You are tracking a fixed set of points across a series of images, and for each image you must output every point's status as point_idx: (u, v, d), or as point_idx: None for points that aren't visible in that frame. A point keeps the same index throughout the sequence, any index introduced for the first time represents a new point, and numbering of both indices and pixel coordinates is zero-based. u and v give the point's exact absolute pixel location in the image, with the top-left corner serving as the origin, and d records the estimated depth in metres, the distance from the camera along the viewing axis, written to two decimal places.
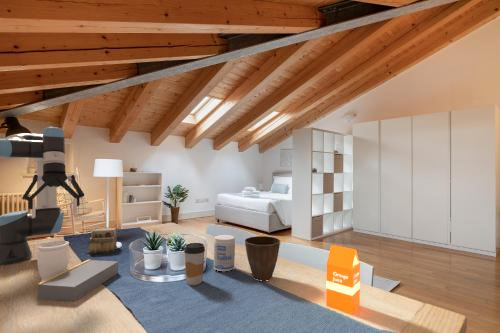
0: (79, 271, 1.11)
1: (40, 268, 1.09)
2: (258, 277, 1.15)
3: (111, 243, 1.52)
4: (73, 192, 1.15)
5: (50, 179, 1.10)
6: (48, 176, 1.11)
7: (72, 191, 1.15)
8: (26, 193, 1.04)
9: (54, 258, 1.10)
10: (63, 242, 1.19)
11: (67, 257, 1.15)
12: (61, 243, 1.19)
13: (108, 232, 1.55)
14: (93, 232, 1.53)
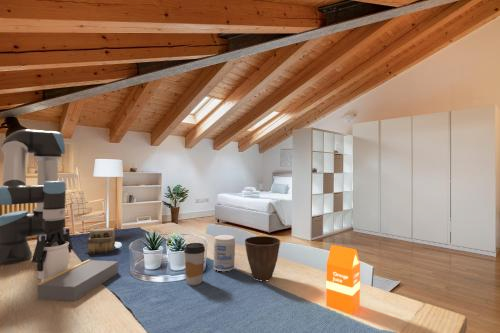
0: (79, 271, 1.11)
1: None
2: (258, 277, 1.15)
3: (109, 243, 1.52)
4: None
5: (55, 237, 1.12)
6: (52, 233, 1.12)
7: None
8: (39, 257, 1.06)
9: (54, 258, 1.10)
10: None
11: (67, 257, 1.15)
12: None
13: (106, 232, 1.55)
14: (91, 232, 1.52)
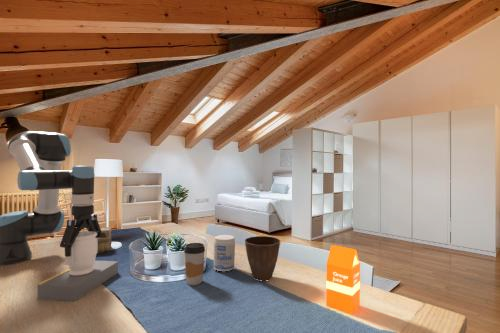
0: None
1: None
2: (258, 277, 1.15)
3: (106, 243, 1.51)
4: None
5: (84, 223, 1.09)
6: (81, 219, 1.08)
7: (95, 231, 1.16)
8: (68, 241, 1.01)
9: (84, 248, 1.06)
10: (90, 232, 1.15)
11: (95, 248, 1.11)
12: (88, 233, 1.15)
13: (103, 232, 1.54)
14: None
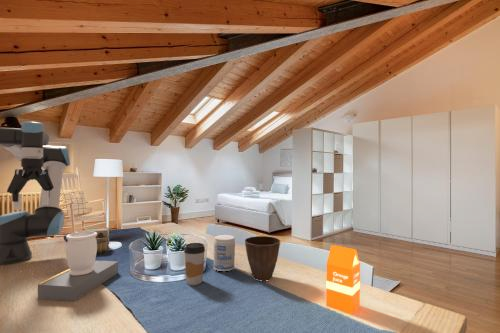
0: None
1: (69, 258, 1.05)
2: (258, 277, 1.15)
3: (104, 243, 1.51)
4: (46, 185, 1.27)
5: (32, 174, 1.19)
6: (30, 170, 1.18)
7: (45, 184, 1.26)
8: (14, 187, 1.12)
9: (84, 248, 1.06)
10: (90, 232, 1.15)
11: (95, 248, 1.11)
12: (88, 233, 1.15)
13: (101, 232, 1.54)
14: None
